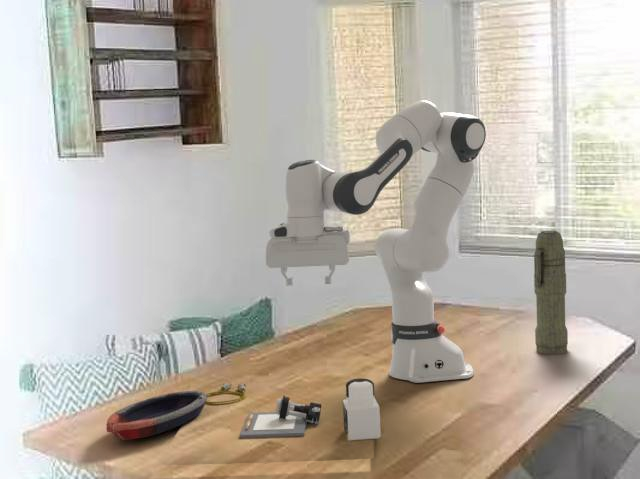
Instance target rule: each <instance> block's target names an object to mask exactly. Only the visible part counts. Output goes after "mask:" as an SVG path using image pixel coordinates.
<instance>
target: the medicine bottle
mask: <svg viewBox="0 0 640 479" xmlns="http://www.w3.org/2000/svg"><path fill="white" fill-rule="evenodd" d="M374 384H375V383H374V381H373V380H371V379H368V378H353V379H351V380H348V381H347V382H346V384H345V392H346V394H345V396H346V399H342V411H343V412H342V413H343V430H344V433H345V436H346V438H347V441H363V440H375V439H381V437H382V436H381V434H382V433H381V415H380V410H381V409H380V405H379V403H378V401H377V400H376V398H375V385H374Z"/></svg>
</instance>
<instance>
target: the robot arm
mask: <svg viewBox="0 0 640 479" xmlns="http://www.w3.org/2000/svg"><path fill="white" fill-rule="evenodd" d="M486 135H487V131H486V127H485V124H484V122H483V121H482V119H480V118H478V117H476V116H474V115H472V114H463V113H457V112H440V110H439V108H438V107H437V106H436V105H435V104H434V103H432V102H431V101H429V100H425V99H424V100H423V99H422V100H418V101H415V102H413V103H411V104H409V105H407V106H406V107H404V108H402V109H400V110H399V111H397V113H395V114H394V115H393V116H391V117H390V118H388V119H387V121H385V122H384V123H383V124H382V126H381V127H380V128H379V129H378V130H377V131H376V135H375V144H376V147H377V150H378V151H379V155H377V157H376V158H374V159H373V160H372V162H370V164H368V165H367V166H366V167H365V168H364V169H361V170H358V171H357V170H356V171H353V172H341V171H339V172H337V171H335V170H332V169H331V168H328V167H325V166H324V165H322V164H321V163H320V162H319V160H315V159H306V160H301V161H296V162H293V163H292V164H291V165H290V166H288V168H287V171H286V176H285V198H286V203H287V206H288V208H287V210H288V211H287V213H286V214H287V216H286V217H287V218H286V219H287V221H286V222H282V223H280V224H278V225H276V226H273V227H271V228H270V230H269V237H270V239H269V240H268V241H267V245H266V247H265V248H266V250H265V265H266V267H268V268H269V269H277V268H279V269H280V273H281V274H282V276H283V277H284V279H285V283H286V286H289V287H290V286H293V285H294V282H293V277H289V275H288V273H287V272H288V268H301V267H302V268H303V267H305V268H307V267H322V266H323V267H324V266H325V267H327V266H328V269H329V271H330V273H328V275H325V276H324V280H325V281H324V285H331V284H332V276H333V275H334V273H335V271H336V266H344V265H345V266H346V265H347V264H348V263H349V262H350V252H349V247H348V244H349V243H350V240H351V238H350V236H351V235H350V232H349V230H348V229H347V228H345V227H343V226H325V218H324V217H325V216H324V215H325V214H324V212H325V211H329V212H335V213H344V214H345V213H346V214H350V215H355V216H358V215H362V214H363V215H364V214H365V213H367V212H369V210H371V208H372V207H373V206H374V205H375V202H376V200H377V199H378V197H379V194H381V191H382V190H383V189H384V187H386V185H387V184H389V182H390V181H392V180H393V179H394V178H395V176H397V174H398V173H399V172H400V171H401V170H402V169H403V168H405V166H406V165H407V164H408V162H409V161H410V160H411V158H412V157H413V156H414V155H415V154H416V153H418V152H419V151H420V150H422V151H425V152H429V153H430V152H431V153H435V154H436V155H437V156H436V160H435V161H436V162H435V165H434V166H433V167H432V169H431V171H430V172H429V174H428V176H427V178H426V179H425V181H424V183H423V185H422V187H421V188H420V190H419V192H418V194H417V195H416V198H414V201H413V203H412V204H413V205H412V206H413V210H414V217H413V220H412V221H413V222H412V224H411V226H410V228H409V229H408V228H407V229H406V228H392V229H389V230H385V231H383V232H382V233H381V234H380V235H379V236H378V237H377V239H376V241H375V244H374V251H375V255H376V257H377V259H378V260H379V261H380V263H381V265H382V268H383V270H384V273H385V275H386V276H385V277H386V279H387V283H388V286H389V290H390V296H391V310H392V311H391V312H392V322H391V323H390V324H391V327H390V336H391V339H390V340H391V343H392V352H391V353H392V354H391V362H390V367H389V372H388V375H389V376H390V377H391V378H395V379H398V380H404V381H408V382H411V383H431V382H439V381H440V382H441V381H449V380H450V381H451V380H461V379H463V380H464V379H469V378H472V377H473V376H474V368H473V366H472V365H471V364H469V363H467V362H465V356H464V353H463V351H462V349H461V348H460V347H459V346H458V345H457V344H455V343H454V342H453V341H451V340H450V339H449V338H447V337H446V336H445V335H443V334H444V333H445V331H446V329H445V326H444V325H443V324H442V323H440V322H439V321H436V320H435V313H434V311H435V310H434V307H435V306H434V294H433V291H432V289H431V287H430V286H429V285H428V283H427V280H426V278H425V275H424V274H431V273H436V272H439V271H441V270H442V269H443V268H444V267H445V266H446V264H447V262H448V260H449V255H450V252H449V251H450V250H449V246H448V243H447V237H448V232H449V227H450V225H451V223H452V220H453V217H454V216H455V213H456V212H457V210H458V208H459V206H460V204H461V202H462V201H463V199H464V197H465V194H466V193H467V191H468V188H469V186H470V184H471V181H472V178H473V174H474V171H475V164H474V162H473V161H474V160H475V159H476V158H477V157H478V155H479V153H480V152H481V151H482V148H484V147H483V146H484V144H485V141H486V138H487V136H486Z"/></svg>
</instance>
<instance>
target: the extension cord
mask: <svg viewBox="0 0 640 479" xmlns="http://www.w3.org/2000/svg"><path fill="white" fill-rule="evenodd" d="M231 387H232V382H231V381H226V382H225V383H223V384H222V385H221V388H220V389H219V390H217V391H213V392H212V391H211V392H208V393H205V394H206V396H207V398H208V397H211V396H217V395H218V396H219V395H223V394H232V395H237V396H241V397H239V398H238V397H237V398H235V399H230V400H223V401H208V400H206V402H205V404H208V405H212V406H213V405H215V406H218V405H219V406H221V405H222V406H223V405H229V404H233V403H237V402H240V401H244V400H245V399H246V398H247V395H246V394H245V391H246V388H247V385H246V383H245V382H244V383H239V384H238V385H237V387H236V388H237V389H238V391H239V392H238V391H233V390H229V389H230V388H231Z"/></svg>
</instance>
